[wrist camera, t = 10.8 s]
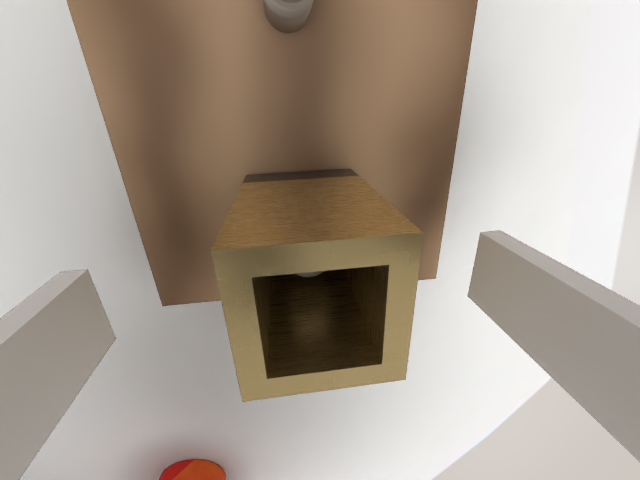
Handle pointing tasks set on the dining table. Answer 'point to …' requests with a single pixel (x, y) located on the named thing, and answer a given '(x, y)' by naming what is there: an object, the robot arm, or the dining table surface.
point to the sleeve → (316, 283)
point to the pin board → (273, 109)
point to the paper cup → (193, 471)
